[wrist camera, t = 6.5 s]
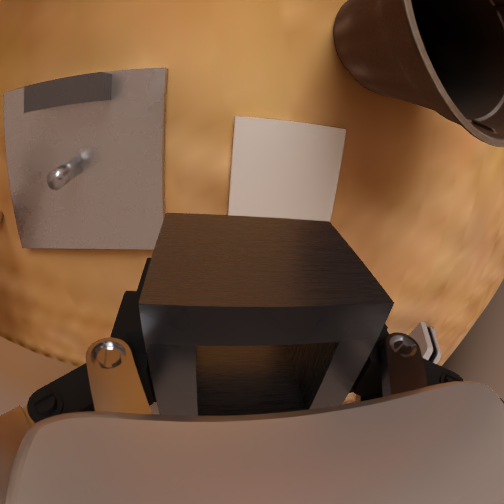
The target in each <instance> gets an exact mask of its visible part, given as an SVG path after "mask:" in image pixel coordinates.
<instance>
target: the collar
mask: <svg viewBox="0 0 504 504" xmlns="http://www.w3.org/2000/svg"><path fill="white" fill-rule="evenodd" d="M138 304H139V311H140V318H141V324H142V330H143V336H144V342H145V348H146V353H147V359H148V364H149V369H150V374H151V378H152V383H153V387H154V392H155V396H156V401H157V405H158V408H159V413H160V415H183V416H230V415H253V414H269V413H281V412H291V411H301V410H309V409H317V408H324V407H331V406H337V405H342V403H343V402H344V400H345V398H346V397H347V395H348V393H349V391H350V390H351V388H352V386H353V384H354V383H355V381H356V379H357V377H358V375H359V374H360V372H361V370H362V368H363V366H364V364H365V362H366V361H367V359H368V357H369V355H370V353H371V351H372V349H373V347H374V345H375V343H376V341H377V339H378V337H379V335H380V333H381V331H382V328H383V326H384V324H385V322H386V320H387V318H388V315H389V313H390V311H391V309H392V306H393V304H394V302H393V301H392V299H391V298H390V297H389V295H388V294H387V293H386V292H385V290H384V289H383V288H382V286H381V285H380V284H379V282H378V281H377V280H376V278H375V277H374V276H373V275H372V273H371V272H370V271H369V270H368V268H367V267H366V266H365V264H364V263H363V262H362V261H361V259H360V258H359V257H358V256H357V255H356V253H355V252H354V251H353V250H352V248H351V247H350V246H349V245H348V243H347V242H346V241H345V240H344V239H343V237H342V236H341V235H340V234H339V233H338V231H337V230H336V229H335V228H334V227H333V226H332V224H331V223H330V222H329V221H317V220H302V219H287V218H271V217H253V216H233V215H211V214H184V213H166V214H165V217H164V220H163V223H162V226H161V229H160V232H159V235H158V238H157V241H156V245H155V248H154V251H153V254H152V258H151V261H150V264H149V268H148V271H147V274H146V278H145V281H144V285H143V289H142V292H141V296H140V300H139V303H138Z"/></svg>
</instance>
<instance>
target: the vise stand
mask: <svg viewBox="0 0 504 504" xmlns="http://www.w3.org/2000/svg"><path fill="white" fill-rule="evenodd" d="M167 80H168V69H167V68H147V69H132V70H120V71H111V72H97V73H90V74H83V75H77V76H71V77H66V78H61V79H55V80H51V81H46V82H42V83H37V84H33V85H29V86H25V87H23V88H20V89H16V90H12V91H9V92H6V93H4V130H5V146H6V158H7V167H8V176H9V183H10V190H11V196H12V202H13V208H14V213H15V218H16V223H17V227H18V232H19V236H20V240H21V244H22V248H61V249H144V250H154V248H155V245H156V241H157V238H158V235H159V232H160V229H161V226H162V223H163V220H164V217H165V193H164V151H165V116H166V95H167Z"/></svg>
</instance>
